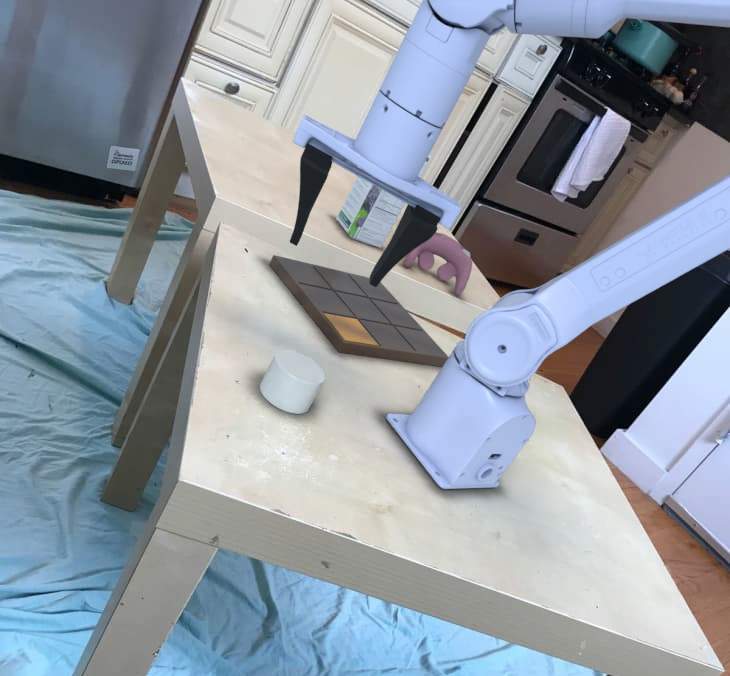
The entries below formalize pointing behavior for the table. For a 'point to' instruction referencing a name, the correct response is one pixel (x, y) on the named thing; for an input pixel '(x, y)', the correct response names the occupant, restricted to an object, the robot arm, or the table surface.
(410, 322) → the board
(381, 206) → the syrup box
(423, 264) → the video game controller
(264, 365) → the table surface
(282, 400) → the white squat cylinder
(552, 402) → the table surface
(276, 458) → the table surface
